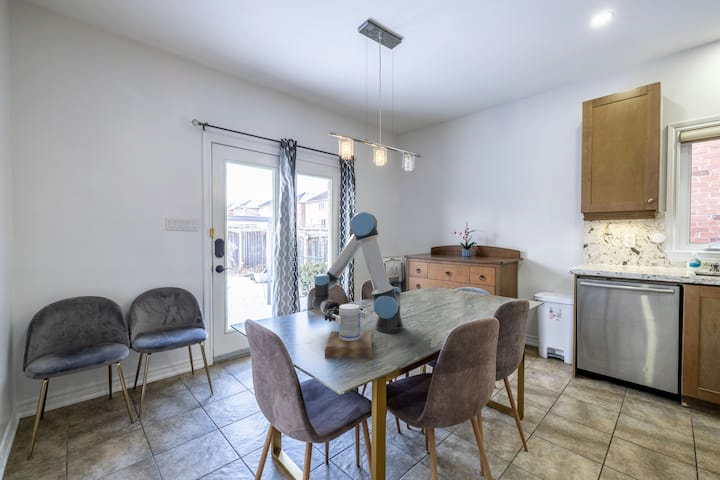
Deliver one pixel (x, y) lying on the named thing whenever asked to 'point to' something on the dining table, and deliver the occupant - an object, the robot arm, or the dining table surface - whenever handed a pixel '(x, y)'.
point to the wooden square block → (349, 347)
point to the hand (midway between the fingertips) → (353, 318)
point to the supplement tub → (349, 322)
